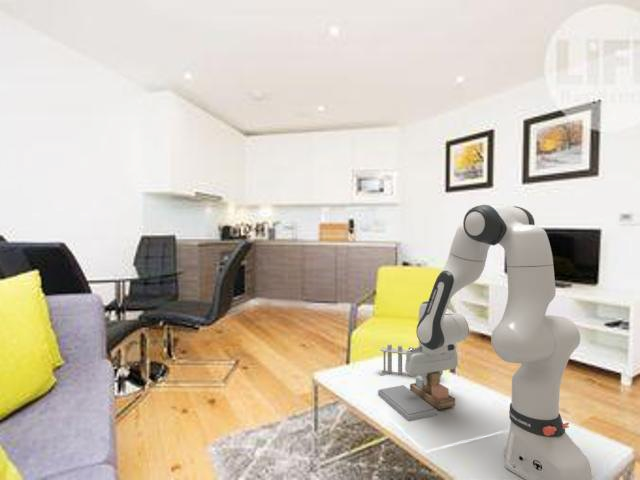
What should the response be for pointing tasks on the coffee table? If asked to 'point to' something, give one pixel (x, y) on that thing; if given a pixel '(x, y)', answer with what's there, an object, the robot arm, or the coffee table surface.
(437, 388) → the block
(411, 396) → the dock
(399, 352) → the test tube rack
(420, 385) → the pale blue cube
